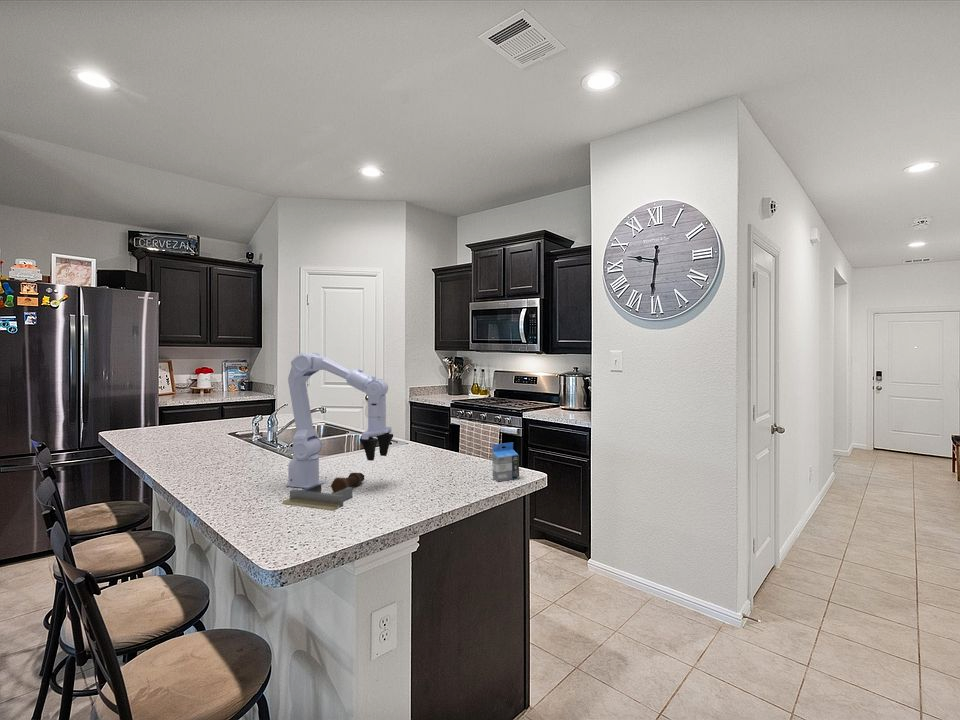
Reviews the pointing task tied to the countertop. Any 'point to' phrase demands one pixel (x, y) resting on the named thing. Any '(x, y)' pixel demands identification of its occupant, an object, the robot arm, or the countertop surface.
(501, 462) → the label tape box
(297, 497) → the grey shallow rectangular tray
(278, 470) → the countertop surface
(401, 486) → the countertop surface
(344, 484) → the bolt
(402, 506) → the countertop surface
